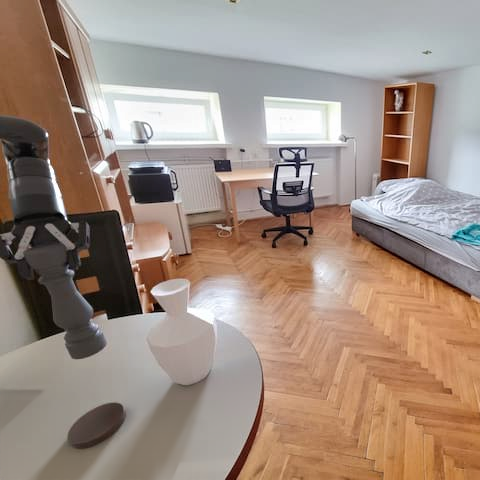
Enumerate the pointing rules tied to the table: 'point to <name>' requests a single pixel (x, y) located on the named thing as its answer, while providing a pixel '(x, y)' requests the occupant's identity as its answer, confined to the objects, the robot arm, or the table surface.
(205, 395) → the table surface
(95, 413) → the coaster
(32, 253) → the candle holder
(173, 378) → the vase
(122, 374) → the table surface
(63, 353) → the table surface
